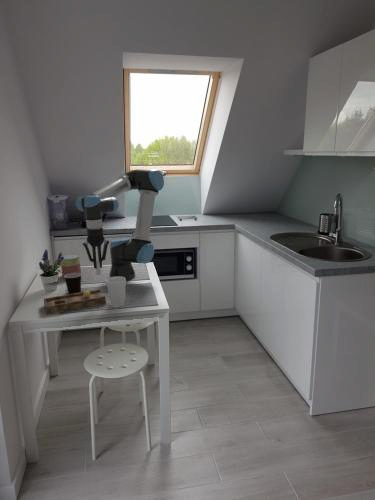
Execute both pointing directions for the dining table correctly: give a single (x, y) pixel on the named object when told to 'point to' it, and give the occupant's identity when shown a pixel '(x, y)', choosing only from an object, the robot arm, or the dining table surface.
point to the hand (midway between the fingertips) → (98, 274)
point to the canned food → (70, 264)
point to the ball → (86, 294)
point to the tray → (73, 301)
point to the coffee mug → (73, 282)
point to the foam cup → (116, 290)
